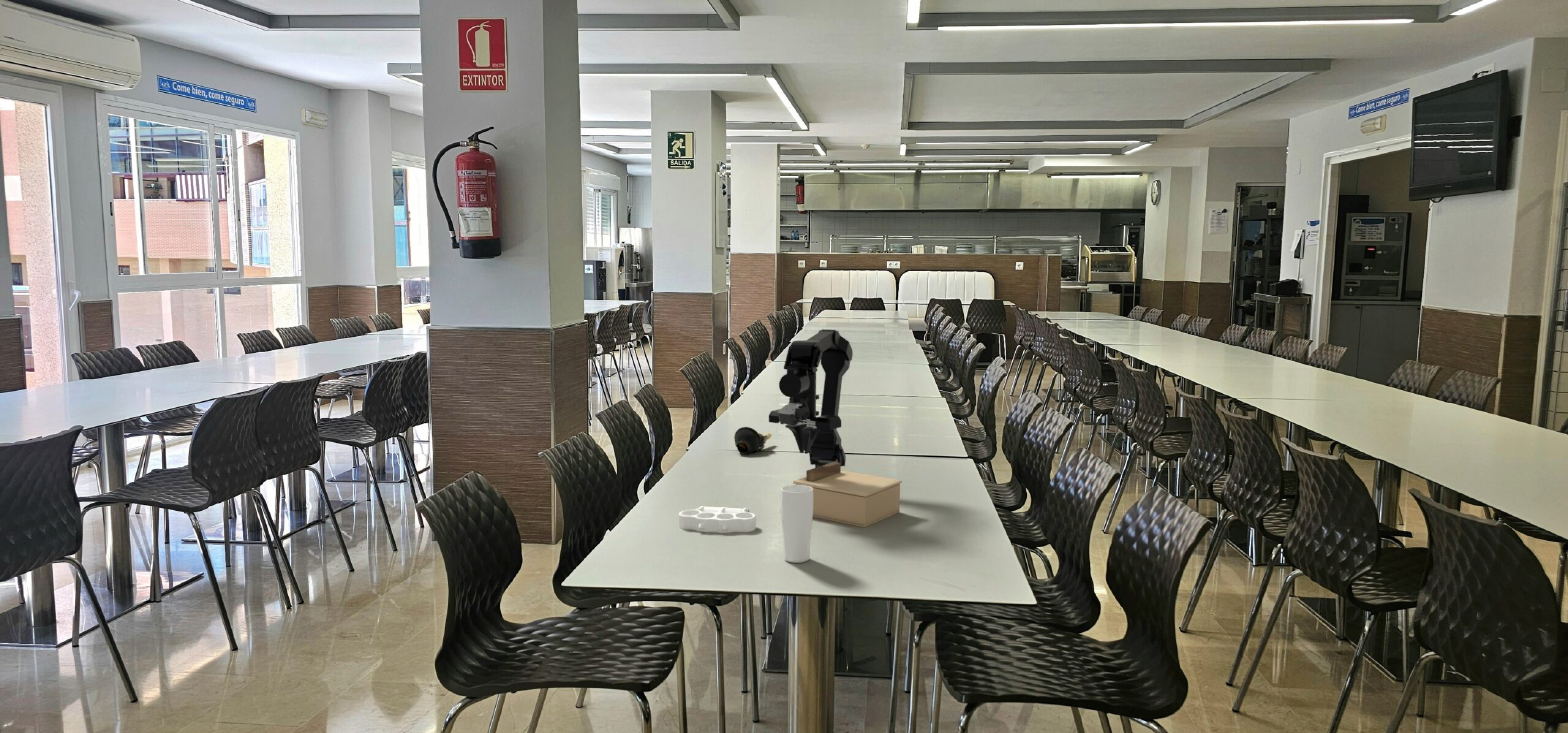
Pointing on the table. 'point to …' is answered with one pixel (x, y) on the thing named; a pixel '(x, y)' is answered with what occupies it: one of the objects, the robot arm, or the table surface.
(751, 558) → the table surface
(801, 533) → the drinking glass
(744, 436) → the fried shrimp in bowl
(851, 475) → the mailer lid
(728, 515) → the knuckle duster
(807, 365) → the robot arm
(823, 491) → the mailer box
